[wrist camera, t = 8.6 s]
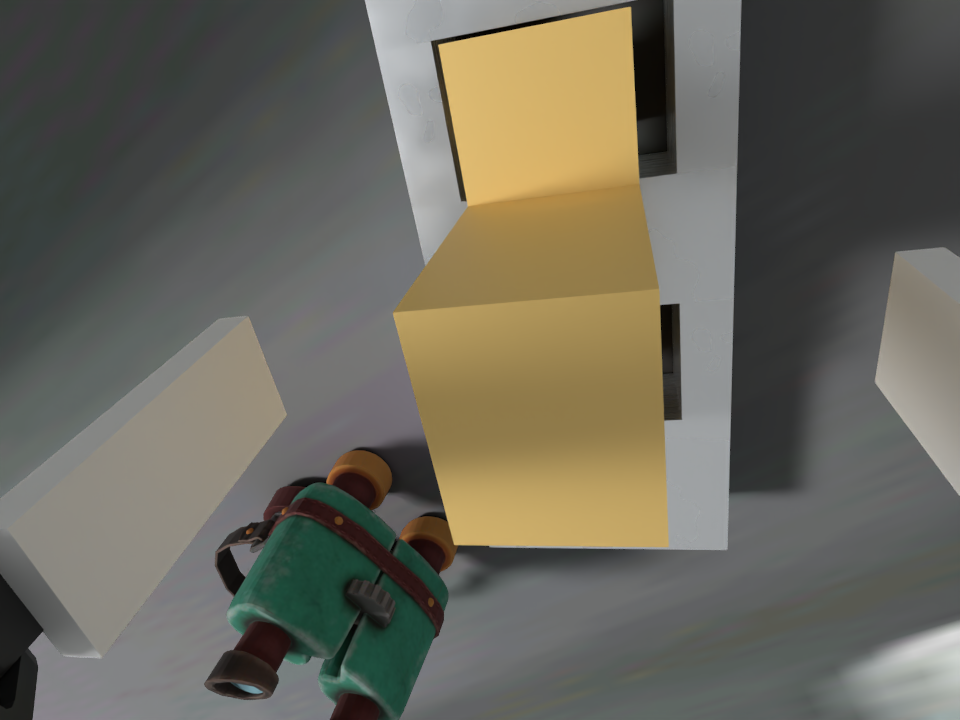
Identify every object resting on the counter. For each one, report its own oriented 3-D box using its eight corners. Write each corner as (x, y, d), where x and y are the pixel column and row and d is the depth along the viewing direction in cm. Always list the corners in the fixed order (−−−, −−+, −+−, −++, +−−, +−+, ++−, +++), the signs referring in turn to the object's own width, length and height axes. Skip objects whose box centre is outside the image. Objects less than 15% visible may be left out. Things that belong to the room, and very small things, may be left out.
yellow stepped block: (643, 372, 23) (672, 670, 12) (537, 378, 24) (484, 659, 13) (623, 7, 17) (649, 3, 7) (486, 35, 18) (328, 67, 8)
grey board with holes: (500, 496, 27) (489, 547, 24) (357, -205, 16) (308, -247, 13) (715, 494, 25) (727, 549, 22) (724, -319, 14) (751, -395, 11)
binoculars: (87, 698, 23) (215, 643, 17) (246, 495, 31) (364, 417, 26) (266, 817, 25) (426, 802, 20) (368, 599, 34) (499, 547, 28)
